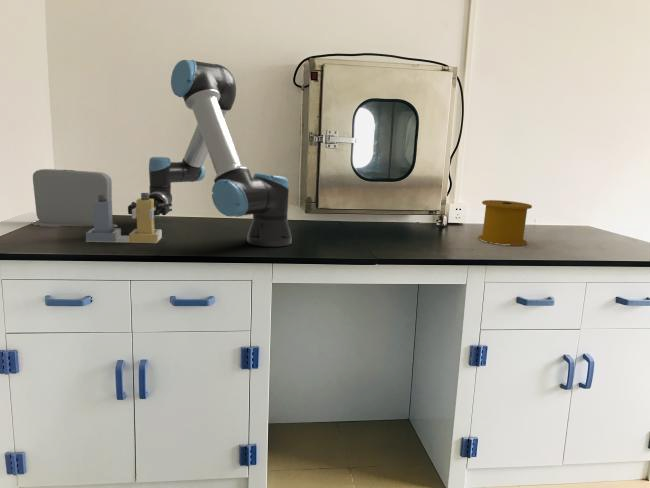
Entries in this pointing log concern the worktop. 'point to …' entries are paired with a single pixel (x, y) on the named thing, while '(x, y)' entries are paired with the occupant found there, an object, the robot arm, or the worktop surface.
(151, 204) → the ochre plug
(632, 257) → the worktop surface
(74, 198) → the grey upright panel
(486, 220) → the spool
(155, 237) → the slot rack
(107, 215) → the blue-grey bottle
